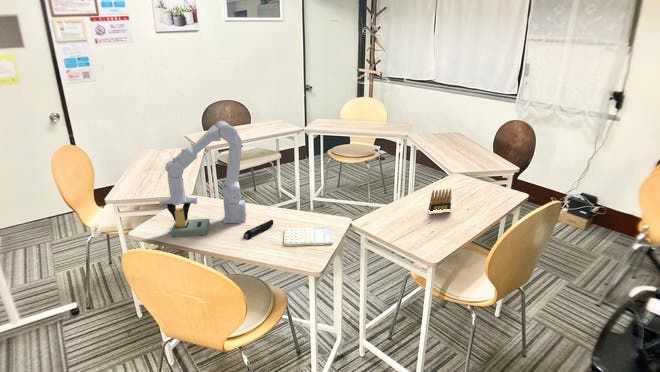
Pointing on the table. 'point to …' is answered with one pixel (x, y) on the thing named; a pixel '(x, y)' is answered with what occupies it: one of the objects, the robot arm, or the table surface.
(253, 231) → the electric trimmer
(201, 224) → the socket plate
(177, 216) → the square peg
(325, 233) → the calculator
